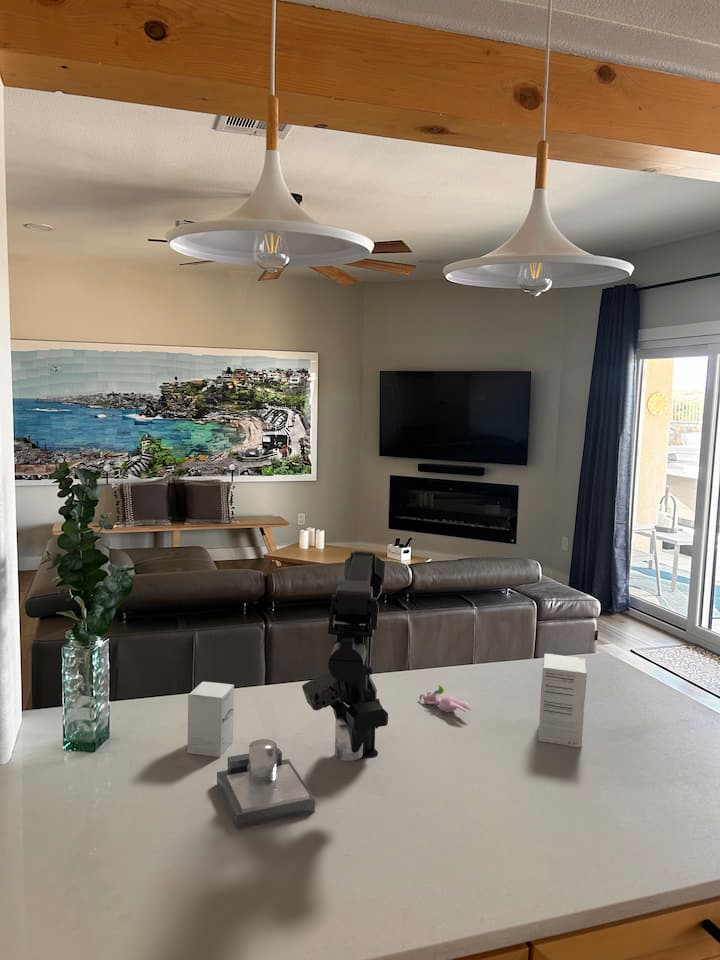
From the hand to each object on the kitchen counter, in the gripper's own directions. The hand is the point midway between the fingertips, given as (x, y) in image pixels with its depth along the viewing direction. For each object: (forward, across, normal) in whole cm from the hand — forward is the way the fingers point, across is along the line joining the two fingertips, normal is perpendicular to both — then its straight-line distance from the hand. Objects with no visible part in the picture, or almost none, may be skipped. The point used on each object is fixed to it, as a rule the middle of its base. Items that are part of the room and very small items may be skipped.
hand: (349, 745), depth 127 cm
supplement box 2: (+12, -9, +55) cm, 57 cm away
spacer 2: (+2, 0, 0) cm, 2 cm away
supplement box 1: (+12, -30, -18) cm, 37 cm away
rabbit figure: (+12, -29, +37) cm, 49 cm away
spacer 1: (+8, -10, -13) cm, 18 cm away
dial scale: (+12, -8, -13) cm, 19 cm away
